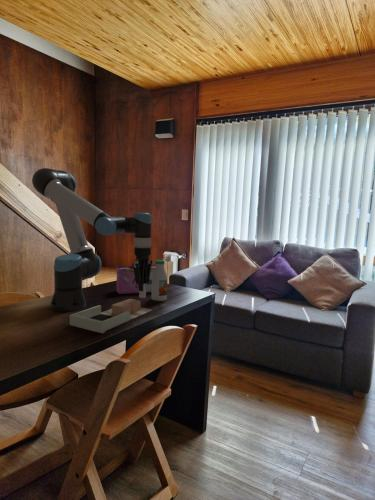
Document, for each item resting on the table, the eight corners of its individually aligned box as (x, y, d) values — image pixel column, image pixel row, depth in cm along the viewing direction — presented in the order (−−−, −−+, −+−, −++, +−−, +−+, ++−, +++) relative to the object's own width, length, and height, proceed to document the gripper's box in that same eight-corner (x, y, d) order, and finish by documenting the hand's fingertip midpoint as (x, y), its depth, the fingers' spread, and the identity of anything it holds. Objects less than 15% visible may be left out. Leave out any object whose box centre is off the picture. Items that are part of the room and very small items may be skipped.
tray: (98, 314, 147) (98, 305, 147) (129, 321, 140) (130, 311, 139) (69, 324, 133) (69, 314, 133) (102, 333, 126) (102, 322, 125)
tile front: (120, 310, 152) (120, 301, 151) (131, 312, 149) (131, 303, 149) (111, 314, 147) (111, 304, 146) (122, 316, 144) (122, 307, 143)
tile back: (129, 307, 158) (129, 298, 157) (140, 309, 155) (140, 300, 154) (121, 310, 152) (121, 301, 152) (132, 312, 150) (132, 303, 149)
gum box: (157, 288, 199) (158, 265, 197) (162, 291, 192) (162, 267, 190) (116, 290, 190) (116, 266, 188) (118, 294, 183) (119, 268, 181)
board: (124, 305, 162) (124, 304, 162) (152, 310, 155) (152, 309, 155) (99, 314, 147) (99, 313, 147) (129, 321, 140) (129, 320, 140)
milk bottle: (152, 301, 170) (153, 261, 167) (150, 297, 177) (151, 259, 175) (168, 301, 172) (169, 261, 169) (164, 297, 179) (166, 259, 177)
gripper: (144, 245, 165) (143, 293, 168) (127, 247, 153) (127, 299, 156) (157, 246, 161) (157, 295, 164) (141, 248, 150) (140, 301, 153)
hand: (142, 297), depth 160 cm, fingers closed
